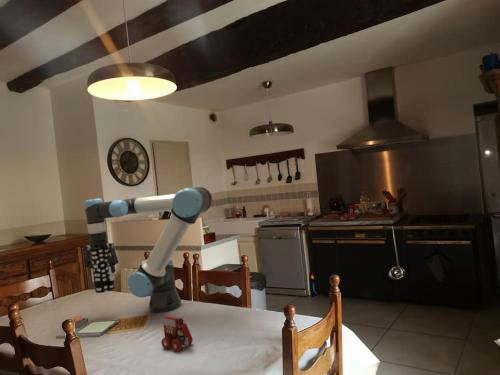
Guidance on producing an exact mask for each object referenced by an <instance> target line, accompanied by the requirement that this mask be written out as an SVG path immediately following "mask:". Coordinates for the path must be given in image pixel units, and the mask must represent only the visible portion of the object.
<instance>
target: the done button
mask: <svg viewBox="0 0 500 375" xmlns="http://www.w3.org/2000/svg"><path fill="white" fill-rule="evenodd" d="M83 318H84V317H83V315H77V316H74V317H72V321H73V320H74V322H75V323H80V322H81V321H83Z"/></svg>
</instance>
